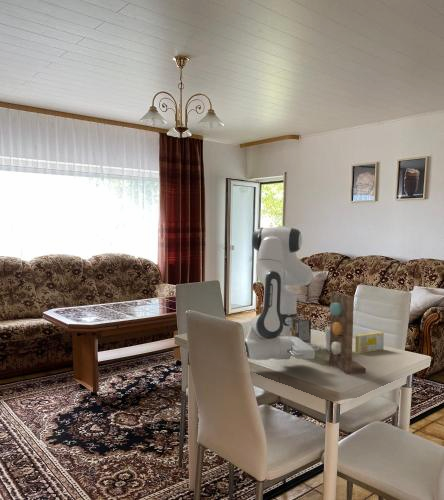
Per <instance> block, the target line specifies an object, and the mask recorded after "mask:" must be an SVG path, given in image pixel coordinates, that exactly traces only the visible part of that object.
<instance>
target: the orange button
mask: <svg viewBox="0 0 444 500" xmlns="http://www.w3.org/2000/svg"><path fill="white" fill-rule="evenodd" d="M332 332H333V334H334V335H342V323H341V322H334V323H333V324H332Z"/></svg>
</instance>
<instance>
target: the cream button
mask: <svg viewBox="0 0 444 500" xmlns="http://www.w3.org/2000/svg"><path fill="white" fill-rule="evenodd" d="M331 350H332V353H333V354H341V342H332V345H331Z"/></svg>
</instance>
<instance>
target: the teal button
mask: <svg viewBox="0 0 444 500" xmlns="http://www.w3.org/2000/svg"><path fill="white" fill-rule="evenodd" d="M329 312H330V315H331V314H332V315H342V313H343V303H331V302H330V305H329Z"/></svg>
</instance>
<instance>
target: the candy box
mask: <svg viewBox="0 0 444 500" xmlns="http://www.w3.org/2000/svg"><path fill="white" fill-rule="evenodd" d="M384 335H385V334H384V332H382V331H379V332H371V333H365V334H363V333H362V334H355V346H354V347H355V351H354V352H355V353H356V354H363V353H364V352H365V353H370V352H371V351H372V352H378V351H377V350H379V351H383V349H384V345H385V344H384V343H385V342H384V337H385V336H384ZM365 353H364V354H365Z"/></svg>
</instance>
